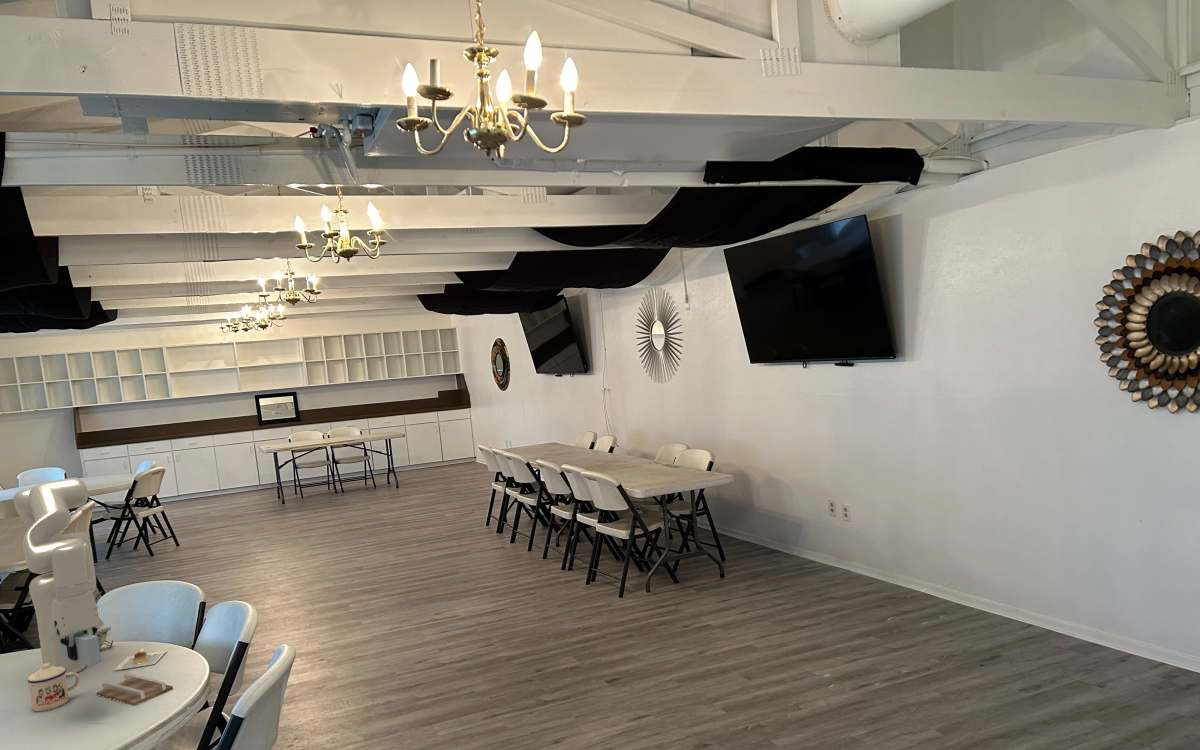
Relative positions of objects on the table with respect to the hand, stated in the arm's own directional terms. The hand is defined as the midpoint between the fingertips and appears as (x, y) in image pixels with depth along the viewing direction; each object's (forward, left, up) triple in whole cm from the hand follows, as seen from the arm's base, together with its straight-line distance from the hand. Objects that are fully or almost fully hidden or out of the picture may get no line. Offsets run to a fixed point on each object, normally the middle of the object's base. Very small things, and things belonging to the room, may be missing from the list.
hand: (81, 656), depth 224 cm
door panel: (0, 0, -1) cm, 1 cm away
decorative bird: (-54, +26, -16) cm, 63 cm away
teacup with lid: (-18, 0, -16) cm, 24 cm away
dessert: (-26, +29, -17) cm, 42 cm away
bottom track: (-2, +13, -16) cm, 21 cm away
